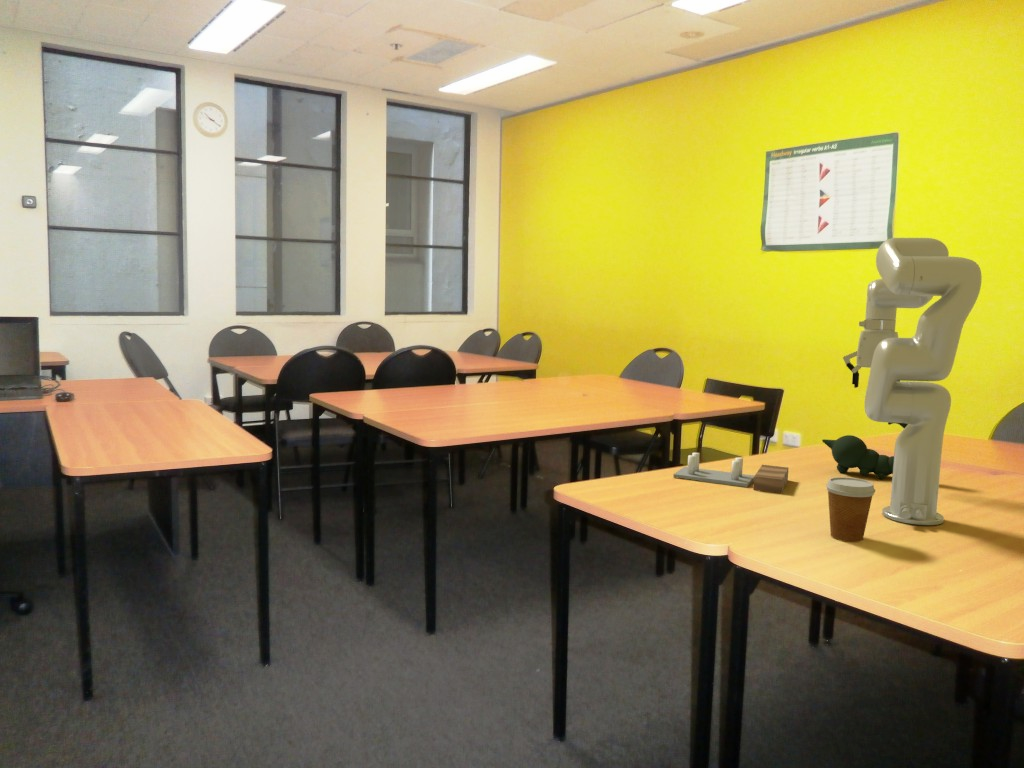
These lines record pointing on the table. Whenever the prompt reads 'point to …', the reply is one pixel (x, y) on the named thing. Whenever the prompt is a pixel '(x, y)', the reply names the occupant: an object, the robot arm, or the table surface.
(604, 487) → the table surface
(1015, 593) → the table surface
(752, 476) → the peg rack
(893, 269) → the robot arm
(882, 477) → the toy figurine
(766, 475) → the shelf plank
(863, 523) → the disposable coffee cup
